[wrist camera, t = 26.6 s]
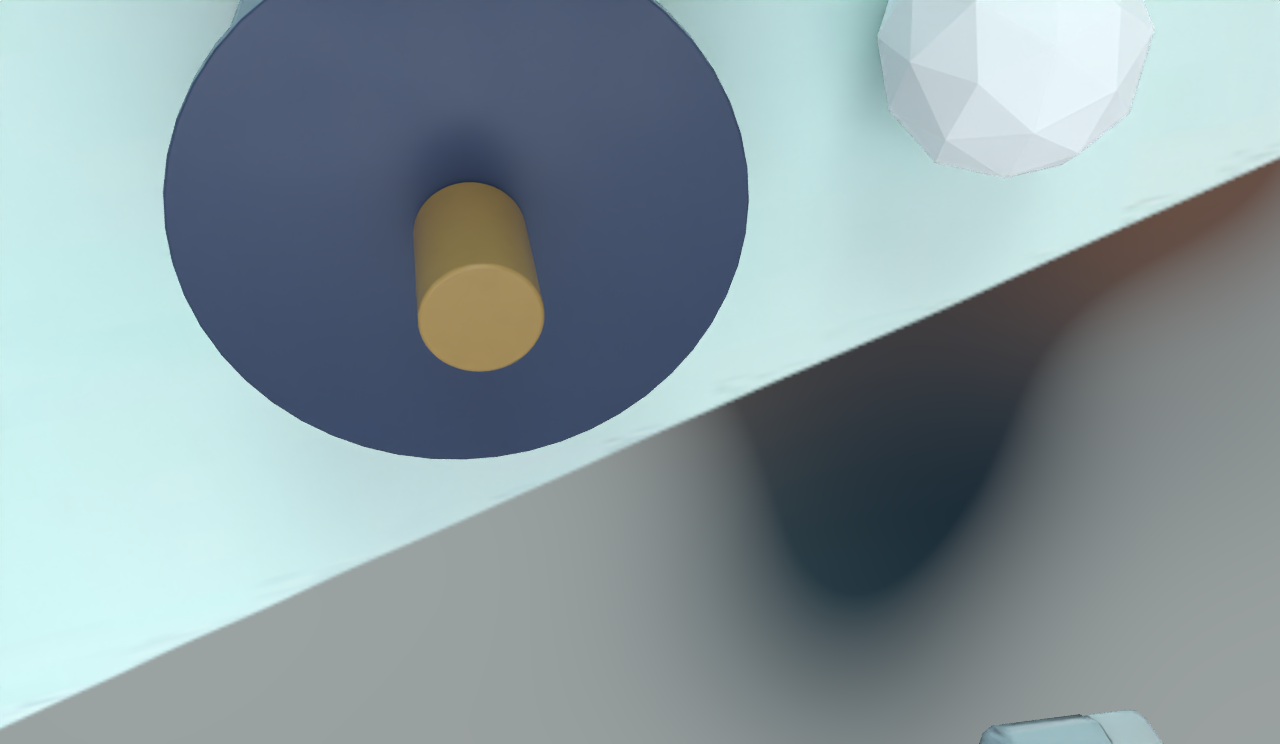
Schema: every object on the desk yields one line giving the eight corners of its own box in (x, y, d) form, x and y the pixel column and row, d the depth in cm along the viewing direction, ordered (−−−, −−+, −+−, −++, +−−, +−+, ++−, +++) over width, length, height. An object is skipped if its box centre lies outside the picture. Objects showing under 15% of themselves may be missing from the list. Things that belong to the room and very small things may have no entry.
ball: (970, 17, 42) (1089, 203, 39) (789, 42, 38) (908, 250, 36) (1112, -161, 35) (1264, 48, 33) (911, -151, 32) (1066, 86, 29)
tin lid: (653, -172, 24) (709, -119, 20) (788, 336, 32) (849, 449, 28) (47, 47, 25) (-20, 144, 21) (326, 499, 32) (319, 635, 28)
